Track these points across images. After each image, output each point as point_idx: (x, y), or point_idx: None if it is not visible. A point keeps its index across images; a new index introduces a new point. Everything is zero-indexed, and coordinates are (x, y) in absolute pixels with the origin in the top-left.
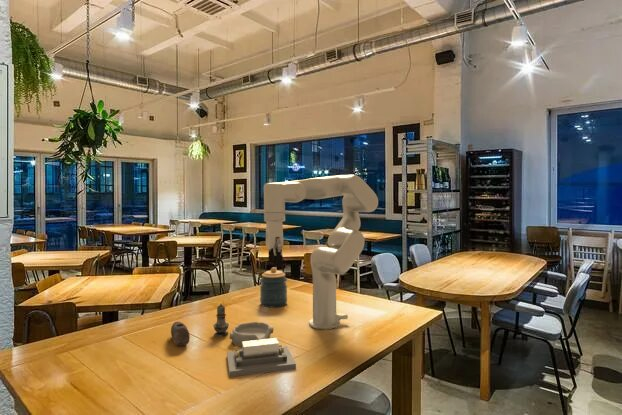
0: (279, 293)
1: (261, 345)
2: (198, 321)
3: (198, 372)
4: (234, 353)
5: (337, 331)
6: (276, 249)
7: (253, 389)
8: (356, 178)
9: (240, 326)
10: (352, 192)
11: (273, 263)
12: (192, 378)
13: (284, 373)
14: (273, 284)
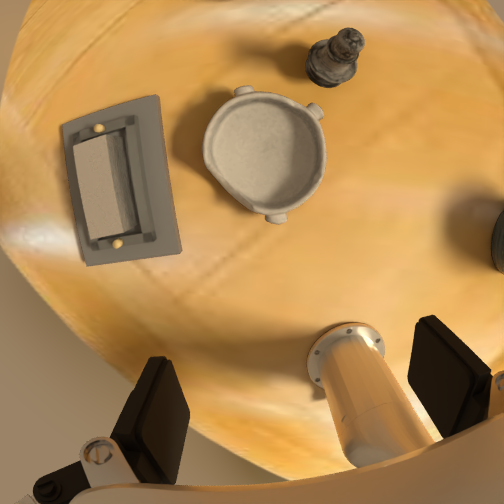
0: None
1: (80, 192)
2: (421, 28)
3: (96, 57)
4: (145, 114)
5: (292, 378)
6: (44, 498)
7: (28, 180)
8: None
9: (305, 116)
10: None
11: (148, 372)
12: (76, 56)
13: (73, 237)
14: None
